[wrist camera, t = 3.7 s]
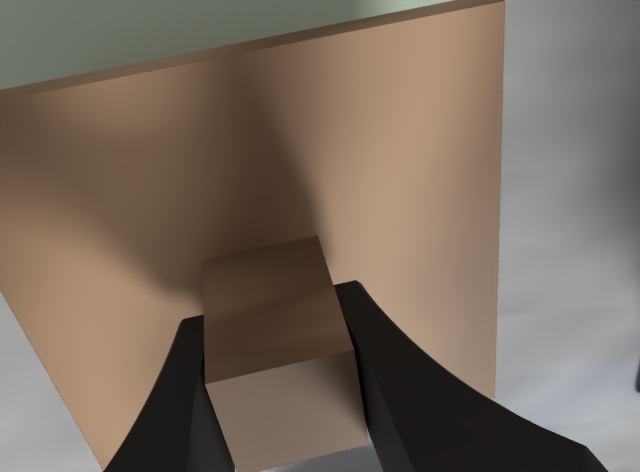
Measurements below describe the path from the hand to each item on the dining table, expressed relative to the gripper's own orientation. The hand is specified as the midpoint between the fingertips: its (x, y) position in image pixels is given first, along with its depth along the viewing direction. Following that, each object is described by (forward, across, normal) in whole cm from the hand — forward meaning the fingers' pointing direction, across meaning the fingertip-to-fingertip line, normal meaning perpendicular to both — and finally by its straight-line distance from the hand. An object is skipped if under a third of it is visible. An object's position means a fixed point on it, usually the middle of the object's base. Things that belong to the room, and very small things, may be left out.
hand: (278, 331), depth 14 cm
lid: (+2, 0, 0) cm, 2 cm away
